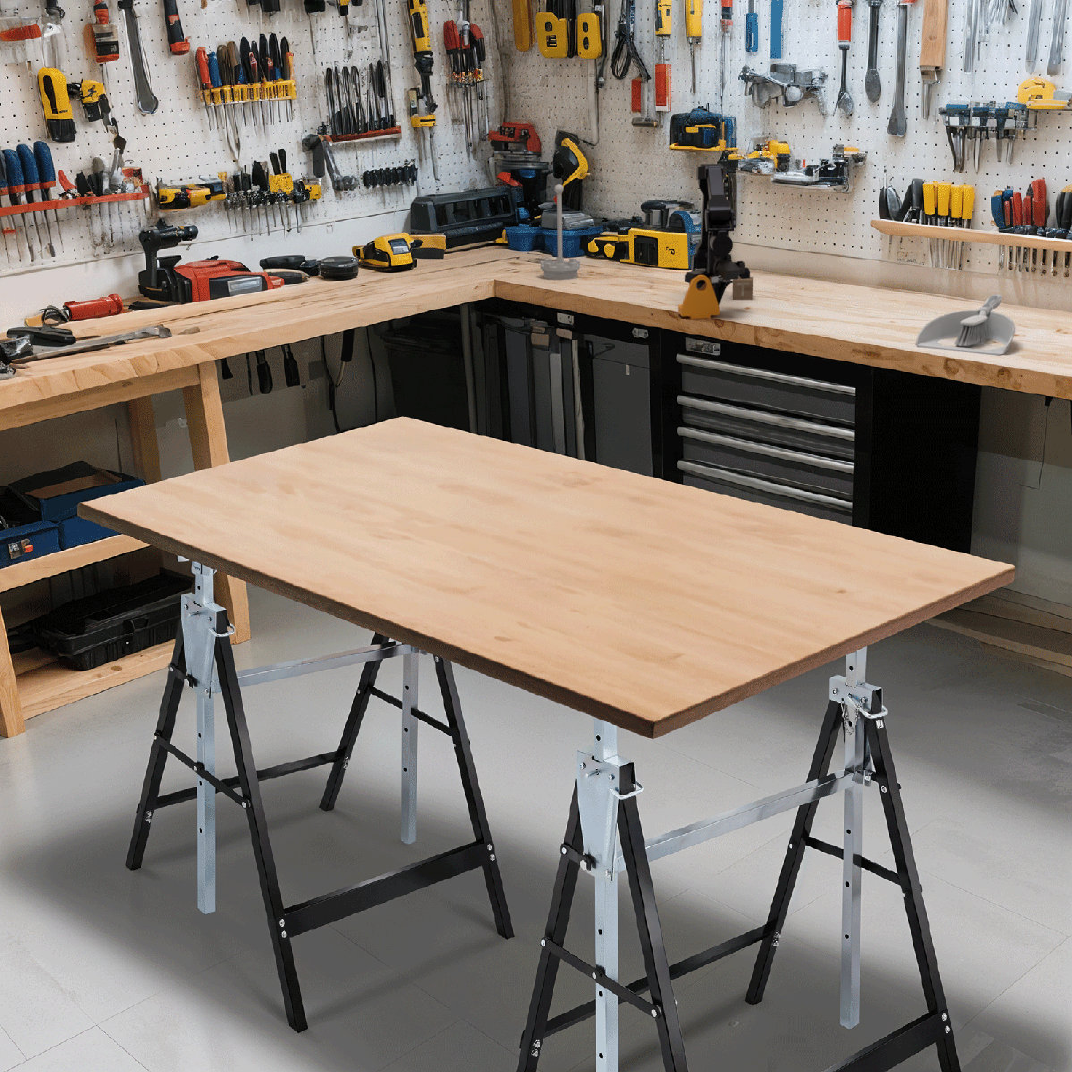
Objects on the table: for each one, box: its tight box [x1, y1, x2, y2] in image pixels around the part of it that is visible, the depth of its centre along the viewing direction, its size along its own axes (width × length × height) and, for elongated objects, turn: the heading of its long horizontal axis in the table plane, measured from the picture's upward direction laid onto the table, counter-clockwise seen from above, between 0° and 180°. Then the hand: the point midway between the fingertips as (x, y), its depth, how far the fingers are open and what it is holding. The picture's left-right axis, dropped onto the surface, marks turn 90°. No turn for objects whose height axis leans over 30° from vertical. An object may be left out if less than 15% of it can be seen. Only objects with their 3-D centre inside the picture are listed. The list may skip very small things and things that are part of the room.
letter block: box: [731, 276, 754, 301], centre depth 410 cm, size 6×6×6 cm
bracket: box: [677, 275, 721, 320], centre depth 385 cm, size 11×7×12 cm, turn 94°
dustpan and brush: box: [915, 294, 1016, 357], centre depth 351 cm, size 23×33×10 cm
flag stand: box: [540, 183, 581, 281], centre depth 447 cm, size 13×13×30 cm
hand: (717, 305), depth 390 cm, fingers closed
